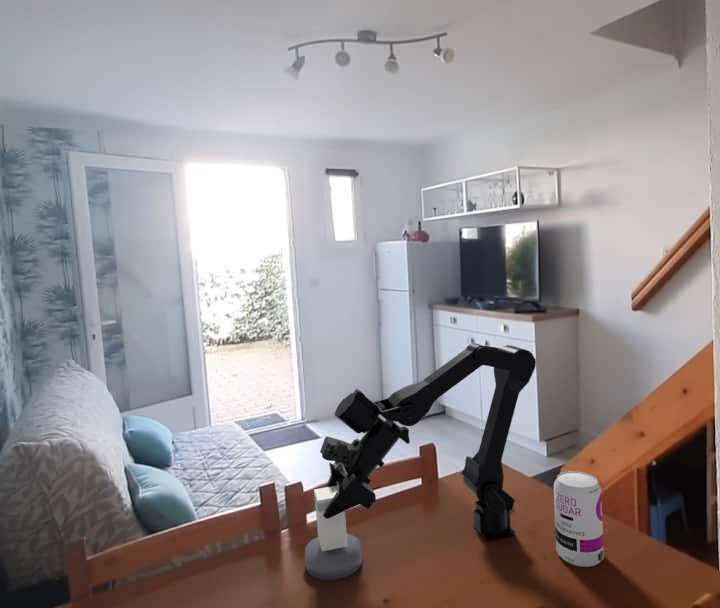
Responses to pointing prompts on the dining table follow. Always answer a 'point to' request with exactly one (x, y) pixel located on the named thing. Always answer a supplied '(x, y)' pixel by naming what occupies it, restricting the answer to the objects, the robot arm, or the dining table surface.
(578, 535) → the supplement can
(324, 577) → the grey dome
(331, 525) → the carton
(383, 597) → the dining table surface
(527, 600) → the dining table surface
